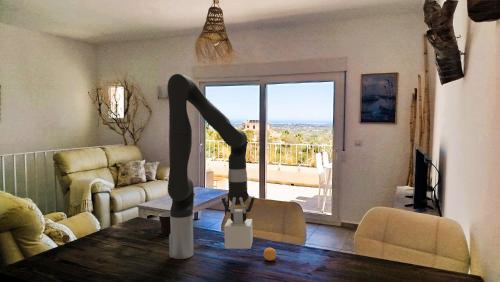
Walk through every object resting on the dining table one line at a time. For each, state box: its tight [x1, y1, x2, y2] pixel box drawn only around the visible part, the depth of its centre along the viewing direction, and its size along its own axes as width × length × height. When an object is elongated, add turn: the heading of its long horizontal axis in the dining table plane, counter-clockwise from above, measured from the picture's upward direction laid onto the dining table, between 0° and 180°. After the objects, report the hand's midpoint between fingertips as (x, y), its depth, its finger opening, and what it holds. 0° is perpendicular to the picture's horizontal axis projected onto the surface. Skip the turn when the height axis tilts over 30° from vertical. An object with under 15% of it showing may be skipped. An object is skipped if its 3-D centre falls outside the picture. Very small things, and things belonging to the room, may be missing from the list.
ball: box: [263, 247, 277, 261], centre depth 136 cm, size 5×5×5 cm
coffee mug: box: [158, 211, 171, 236], centre depth 171 cm, size 12×9×10 cm
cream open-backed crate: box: [223, 208, 254, 250], centre depth 136 cm, size 10×10×14 cm
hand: (238, 221), depth 136 cm, fingers closed on cream open-backed crate, 3 cm apart
